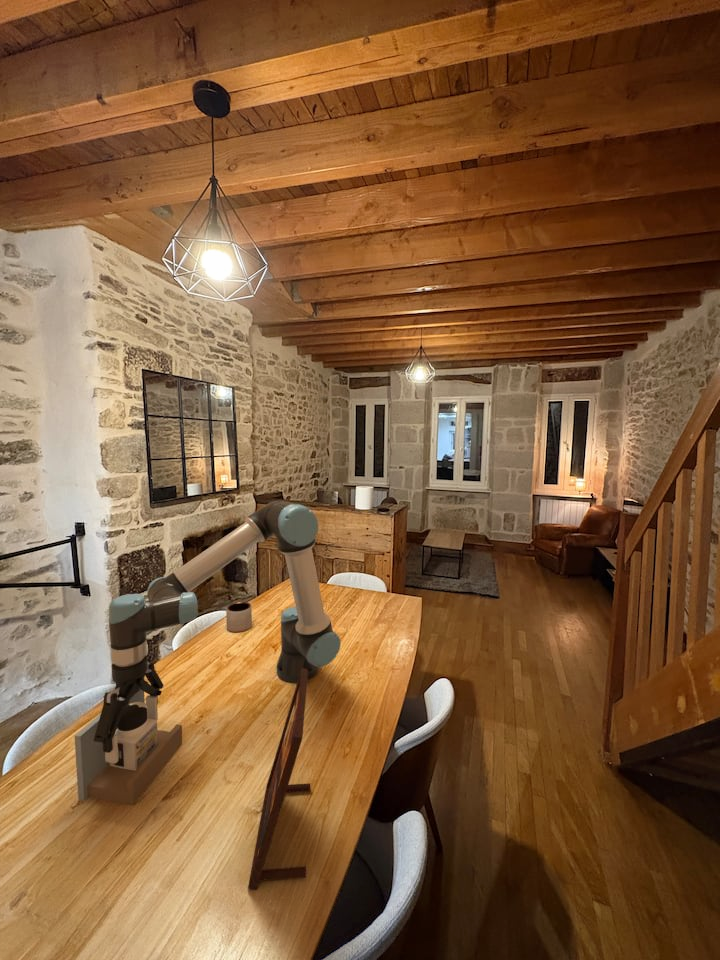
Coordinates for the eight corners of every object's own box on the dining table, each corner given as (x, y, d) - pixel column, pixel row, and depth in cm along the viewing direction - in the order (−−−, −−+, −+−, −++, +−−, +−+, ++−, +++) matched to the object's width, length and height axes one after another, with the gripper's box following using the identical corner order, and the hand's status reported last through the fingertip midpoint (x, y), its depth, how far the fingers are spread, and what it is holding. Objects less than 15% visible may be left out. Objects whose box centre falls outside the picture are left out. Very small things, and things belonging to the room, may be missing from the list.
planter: (257, 625, 171) (256, 605, 170) (237, 635, 162) (237, 614, 161) (240, 619, 177) (240, 599, 176) (221, 628, 168) (220, 607, 167)
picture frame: (266, 788, 90) (264, 669, 87) (310, 785, 91) (310, 667, 88) (247, 890, 69) (245, 739, 67) (305, 885, 70) (305, 735, 68)
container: (136, 772, 91) (133, 721, 90) (108, 766, 92) (105, 716, 91) (158, 747, 98) (156, 700, 97) (133, 742, 100) (130, 696, 99)
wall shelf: (184, 740, 104) (182, 686, 103) (130, 809, 85) (127, 743, 83) (141, 734, 106) (138, 681, 105) (78, 800, 87) (74, 735, 85)
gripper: (151, 632, 106) (154, 703, 108) (70, 689, 81) (76, 780, 83) (175, 634, 105) (178, 706, 107) (101, 693, 80) (106, 785, 82)
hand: (133, 739), depth 95 cm, fingers open, 13 cm apart
